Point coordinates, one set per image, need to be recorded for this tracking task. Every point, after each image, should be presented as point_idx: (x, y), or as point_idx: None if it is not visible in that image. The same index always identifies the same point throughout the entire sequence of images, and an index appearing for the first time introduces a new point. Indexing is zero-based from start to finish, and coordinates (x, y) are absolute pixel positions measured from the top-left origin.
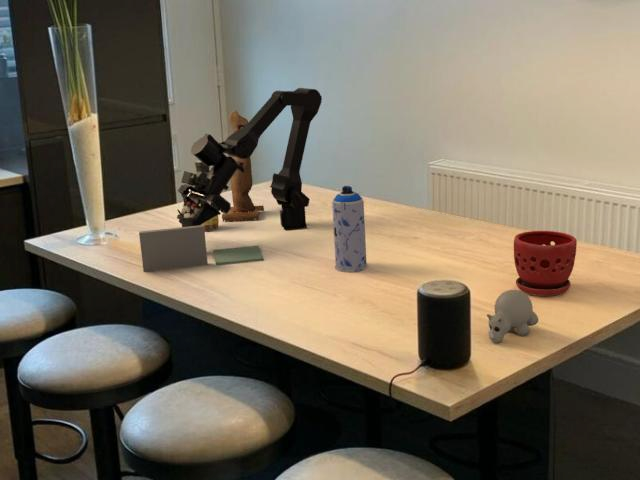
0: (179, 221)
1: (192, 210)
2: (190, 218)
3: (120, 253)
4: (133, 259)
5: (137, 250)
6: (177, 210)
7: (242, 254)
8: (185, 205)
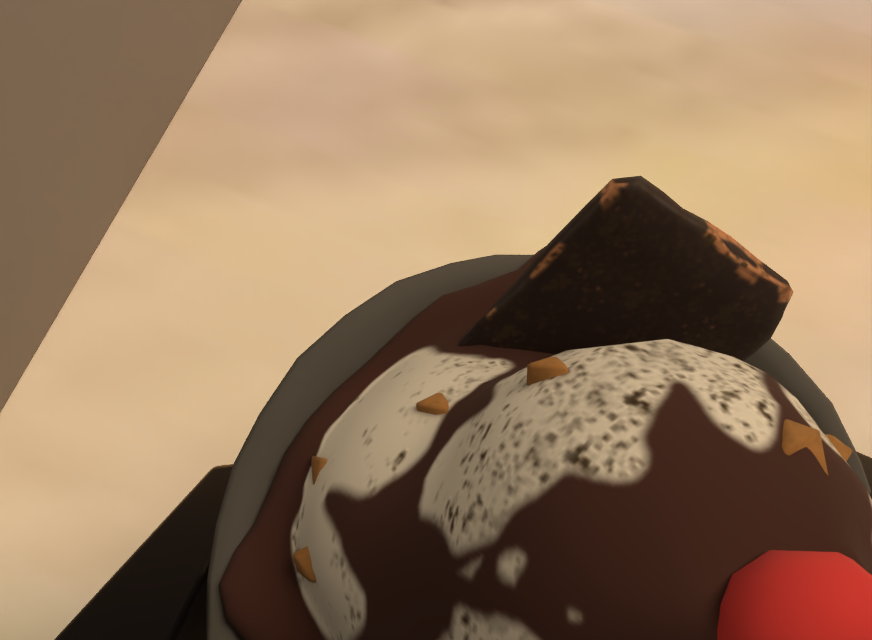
0: None
1: (428, 633)
2: (238, 455)
3: (832, 24)
4: (595, 36)
5: (848, 150)
6: (724, 236)
7: None
8: (736, 458)
